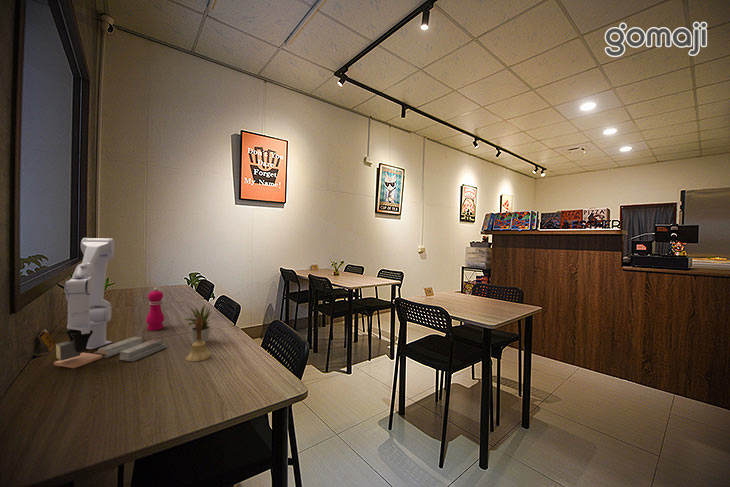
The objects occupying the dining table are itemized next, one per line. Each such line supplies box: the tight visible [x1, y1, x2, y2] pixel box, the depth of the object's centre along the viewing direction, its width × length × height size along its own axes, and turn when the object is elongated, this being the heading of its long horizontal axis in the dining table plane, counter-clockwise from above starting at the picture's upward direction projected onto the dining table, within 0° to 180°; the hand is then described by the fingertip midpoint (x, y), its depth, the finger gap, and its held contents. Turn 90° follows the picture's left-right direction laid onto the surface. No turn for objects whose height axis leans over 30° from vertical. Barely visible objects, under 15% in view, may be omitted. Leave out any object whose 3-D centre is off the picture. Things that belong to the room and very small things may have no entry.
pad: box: [53, 351, 103, 369], centre depth 107 cm, size 9×9×1 cm
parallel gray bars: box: [93, 336, 167, 363], centre depth 117 cm, size 18×14×3 cm
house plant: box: [183, 304, 217, 344], centre depth 130 cm, size 14×14×16 cm
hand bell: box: [185, 314, 212, 363], centre depth 114 cm, size 8×8×16 cm
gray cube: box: [55, 340, 81, 361], centre depth 105 cm, size 4×5×5 cm
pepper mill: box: [145, 287, 165, 332], centre depth 145 cm, size 7×7×20 cm
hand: (78, 349), depth 107 cm, fingers closed on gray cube, 4 cm apart
